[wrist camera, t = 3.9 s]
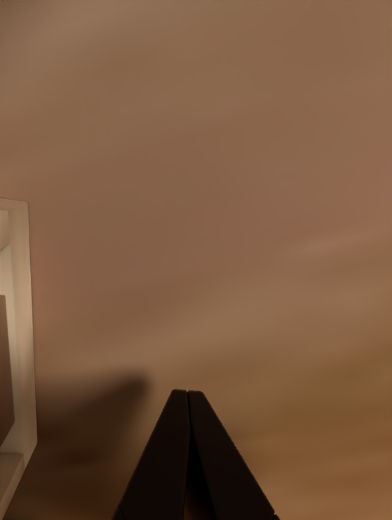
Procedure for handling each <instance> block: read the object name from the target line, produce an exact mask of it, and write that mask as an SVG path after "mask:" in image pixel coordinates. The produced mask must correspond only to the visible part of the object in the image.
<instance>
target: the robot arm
mask: <svg viewBox="0 0 392 520" xmlns="http://www.w3.org/2000/svg"><path fill="white" fill-rule="evenodd" d="M274 513H275V511H274V509H273V508H272V506H271V504H270V503H269V501H268V499H267V498H266V496H265V494H264V493H263V491H262V489H261V488H260V486H259V484H258V483H257V481H256V479H255V478H254V476H253V475H252V473H251V471H250V470H249V468H248V466H247V465H246V463H245V461H244V460H243V458H242V456H241V455H240V453H239V451H238V450H237V448H236V446H235V445H234V443H233V441H232V440H231V438H230V436H229V435H228V433H227V432H226V430H225V428H224V427H223V425H222V423H221V422H220V420H219V418H218V417H217V415H216V413H215V412H214V410H213V408H212V407H211V405H210V403H209V402H208V400H207V398H206V397H205V395H204V394H203V392H201V391H192V390H189V391H188V392H187V391H186V390H179V389H173V390H172V391H171V394H170V396H169V398H168V400H167V402H166V404H165V406H164V408H163V411H162V413H161V415H160V417H159V419H158V421H157V423H156V426H155V428H154V430H153V432H152V434H151V436H150V438H149V441H148V443H147V445H146V447H145V449H144V451H143V453H142V456H141V458H140V460H139V462H138V464H137V466H136V468H135V470H134V473H133V475H132V477H131V479H130V481H129V483H128V485H127V488H126V490H125V492H124V494H123V496H122V498H121V500H120V503H119V505H118V509H116V511H115V513H114V515H113V517H112V519H111V520H280V519H279V517H278V516H277V515H276V514H275V515H274Z"/></svg>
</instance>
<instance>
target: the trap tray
mask: <svg viewBox="0 0 392 520" xmlns="http://www.w3.org/2000/svg"><path fill="white" fill-rule="evenodd" d="M0 295H5V298H6V311H7V324H8V337H9V350H10V363H11V376H12V389H13V402H14V415H15V422H14V424H13V426H12V428H11V429H10V431H9V433H8V435H7V437H6V438H5V440H4V442H3V444H2V445H1V447H0V520H2V519H3V517H4V515H5V513H6V510H7V508H8V506H9V504H10V502H11V499H12V497H13V495H14V493H15V491H16V488H17V486H18V484H19V482H20V480H21V477H22V475H23V473H24V471H25V469H26V466H27V464H28V462H29V460H30V458H31V455H32V453H33V451H34V449H35V447H36V444H37V421H36V396H35V372H34V348H33V323H32V299H31V274H30V250H29V225H28V202H23V201H16V200H9V199H2V198H0Z"/></svg>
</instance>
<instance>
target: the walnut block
mask: <svg viewBox="0 0 392 520" xmlns="http://www.w3.org/2000/svg"><path fill="white" fill-rule="evenodd" d="M14 422H15V415H14V402H13V389H12V376H11V363H10V350H9V337H8V324H7V311H6V298H5V295H0V447H1V445H2V444H3V442H4V440H5V438H6V437H7V435H8V433H9V431H10V429H11V428H12V426H13V424H14Z"/></svg>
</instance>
